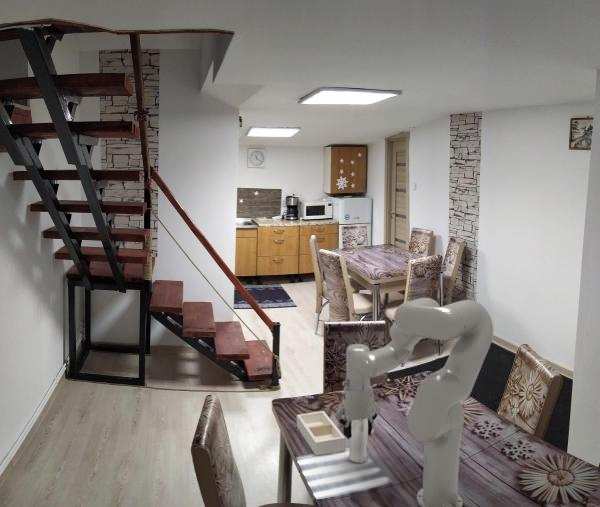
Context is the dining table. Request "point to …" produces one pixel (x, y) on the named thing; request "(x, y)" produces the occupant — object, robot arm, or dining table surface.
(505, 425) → the dining table surface
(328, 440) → the cream divided tray
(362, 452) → the beer glass
